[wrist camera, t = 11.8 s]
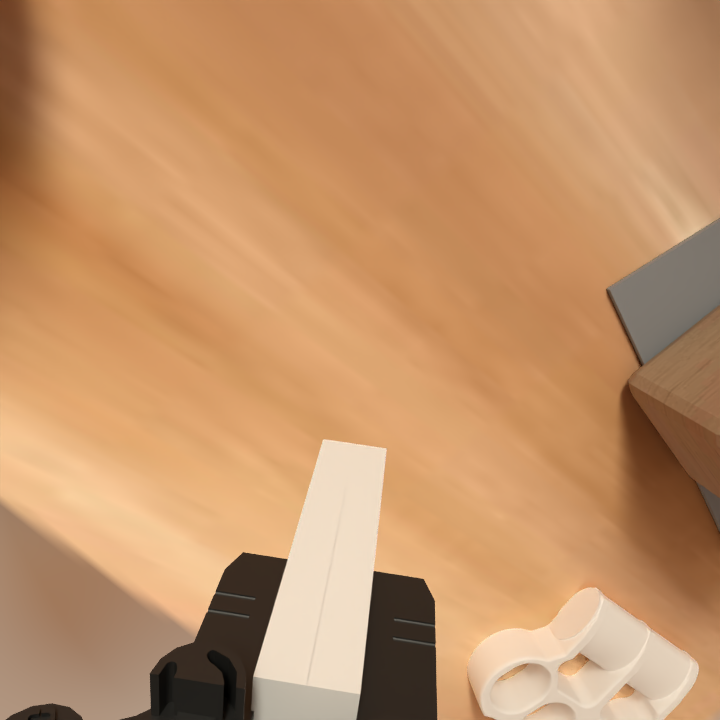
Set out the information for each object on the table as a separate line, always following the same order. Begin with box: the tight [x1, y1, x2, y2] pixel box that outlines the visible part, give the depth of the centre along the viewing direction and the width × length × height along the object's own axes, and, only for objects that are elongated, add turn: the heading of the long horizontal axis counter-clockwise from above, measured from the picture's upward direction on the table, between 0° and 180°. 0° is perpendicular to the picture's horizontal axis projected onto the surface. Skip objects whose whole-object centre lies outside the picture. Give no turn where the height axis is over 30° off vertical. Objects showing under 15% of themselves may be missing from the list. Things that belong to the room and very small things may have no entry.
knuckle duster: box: [467, 587, 699, 720], centre depth 47 cm, size 3×18×15 cm
